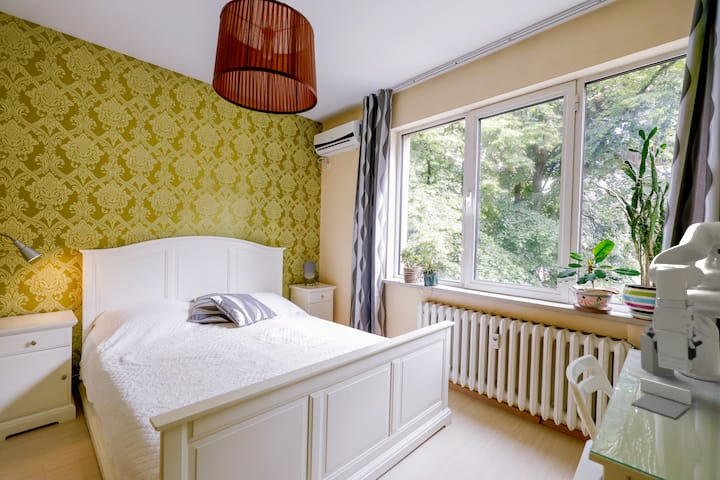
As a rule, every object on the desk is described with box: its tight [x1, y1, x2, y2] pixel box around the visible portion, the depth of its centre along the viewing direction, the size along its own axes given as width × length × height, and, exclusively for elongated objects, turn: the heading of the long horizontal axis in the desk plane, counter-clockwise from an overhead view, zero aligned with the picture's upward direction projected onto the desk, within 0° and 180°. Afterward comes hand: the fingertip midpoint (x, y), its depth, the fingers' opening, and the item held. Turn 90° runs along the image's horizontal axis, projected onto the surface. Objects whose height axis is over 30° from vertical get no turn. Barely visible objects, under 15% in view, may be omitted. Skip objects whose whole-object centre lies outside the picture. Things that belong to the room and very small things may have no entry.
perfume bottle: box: [639, 323, 675, 377], centre depth 125 cm, size 7×7×18 cm
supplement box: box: [656, 330, 693, 373], centre depth 110 cm, size 7×7×13 cm
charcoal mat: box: [631, 393, 690, 420], centre depth 99 cm, size 12×10×1 cm
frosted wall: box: [639, 377, 692, 406], centre depth 105 cm, size 1×12×4 cm, turn 31°
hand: (674, 355), depth 110 cm, fingers closed on supplement box, 7 cm apart
